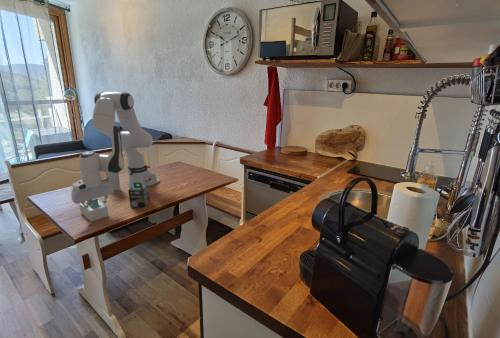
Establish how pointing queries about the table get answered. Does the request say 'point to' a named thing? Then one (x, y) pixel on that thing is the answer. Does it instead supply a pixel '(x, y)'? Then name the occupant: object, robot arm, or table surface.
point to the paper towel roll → (114, 179)
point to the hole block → (94, 211)
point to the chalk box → (139, 195)
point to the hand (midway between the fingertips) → (95, 205)
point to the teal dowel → (95, 203)
